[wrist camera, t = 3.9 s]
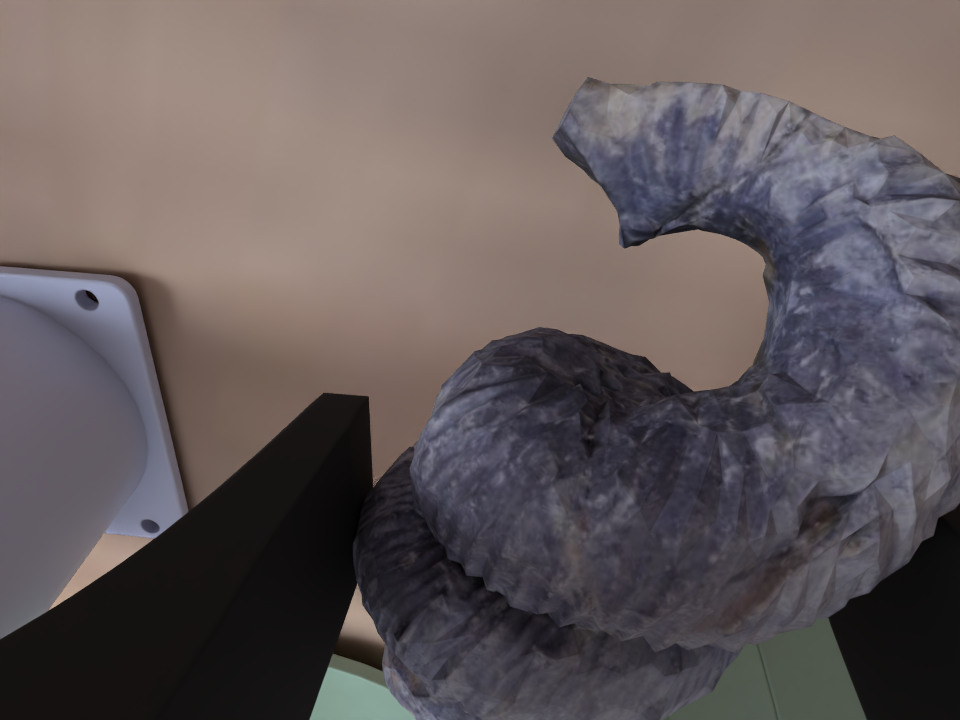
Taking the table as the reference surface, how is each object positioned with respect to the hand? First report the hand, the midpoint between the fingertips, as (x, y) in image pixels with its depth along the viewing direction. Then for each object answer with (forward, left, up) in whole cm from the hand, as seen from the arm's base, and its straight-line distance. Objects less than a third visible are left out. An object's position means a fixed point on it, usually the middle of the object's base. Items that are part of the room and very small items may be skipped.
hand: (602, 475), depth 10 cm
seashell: (0, 0, -2) cm, 2 cm away
